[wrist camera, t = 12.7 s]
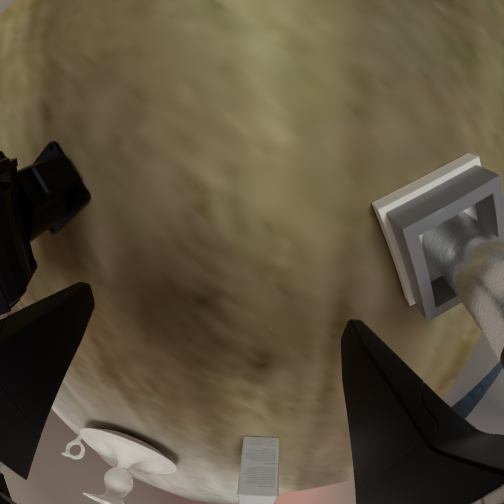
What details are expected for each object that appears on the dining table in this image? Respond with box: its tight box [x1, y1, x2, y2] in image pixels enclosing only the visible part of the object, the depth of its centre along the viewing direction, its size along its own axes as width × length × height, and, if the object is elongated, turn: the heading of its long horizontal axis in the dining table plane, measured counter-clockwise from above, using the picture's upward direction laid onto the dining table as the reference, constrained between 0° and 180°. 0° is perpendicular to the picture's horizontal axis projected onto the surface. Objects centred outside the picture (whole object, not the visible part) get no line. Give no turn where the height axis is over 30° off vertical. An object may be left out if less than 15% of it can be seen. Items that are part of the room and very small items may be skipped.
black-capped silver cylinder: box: [422, 211, 504, 368], centre depth 14 cm, size 5×5×12 cm
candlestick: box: [62, 428, 178, 504], centre depth 32 cm, size 21×25×28 cm
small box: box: [237, 436, 279, 504], centre depth 34 cm, size 8×6×10 cm
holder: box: [372, 153, 504, 321], centre depth 19 cm, size 10×10×4 cm
